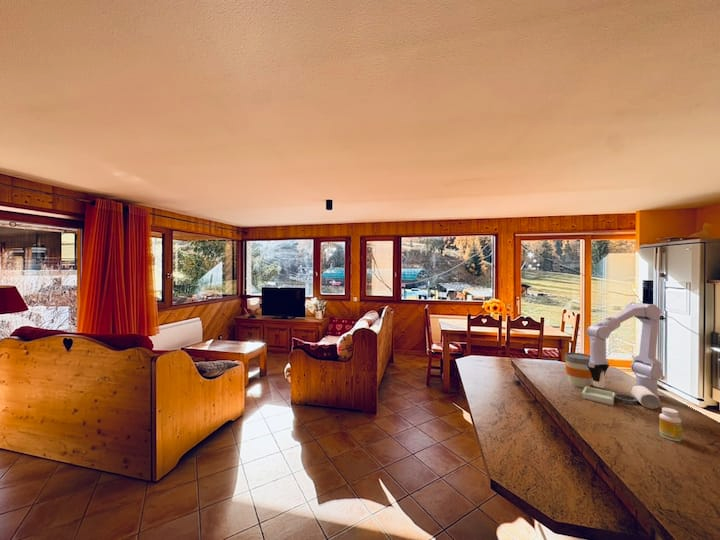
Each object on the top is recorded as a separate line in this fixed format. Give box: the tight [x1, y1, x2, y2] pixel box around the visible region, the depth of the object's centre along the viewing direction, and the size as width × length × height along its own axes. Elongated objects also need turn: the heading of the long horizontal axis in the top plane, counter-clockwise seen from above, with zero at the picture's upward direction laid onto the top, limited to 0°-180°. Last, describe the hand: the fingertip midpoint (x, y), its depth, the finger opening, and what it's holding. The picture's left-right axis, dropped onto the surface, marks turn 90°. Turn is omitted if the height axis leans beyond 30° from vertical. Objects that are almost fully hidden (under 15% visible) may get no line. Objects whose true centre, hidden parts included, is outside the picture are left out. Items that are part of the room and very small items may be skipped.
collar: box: [614, 392, 639, 406], centre depth 132 cm, size 8×8×2 cm
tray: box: [581, 386, 616, 406], centre depth 135 cm, size 11×11×2 cm
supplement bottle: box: [658, 407, 683, 442], centre depth 103 cm, size 5×5×10 cm
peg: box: [592, 370, 605, 389], centre depth 135 cm, size 4×4×8 cm
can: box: [630, 384, 661, 410], centre depth 129 cm, size 6×6×12 cm
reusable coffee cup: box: [564, 352, 593, 389], centre depth 151 cm, size 13×12×15 cm
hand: (598, 380), depth 135 cm, fingers closed on peg, 4 cm apart
